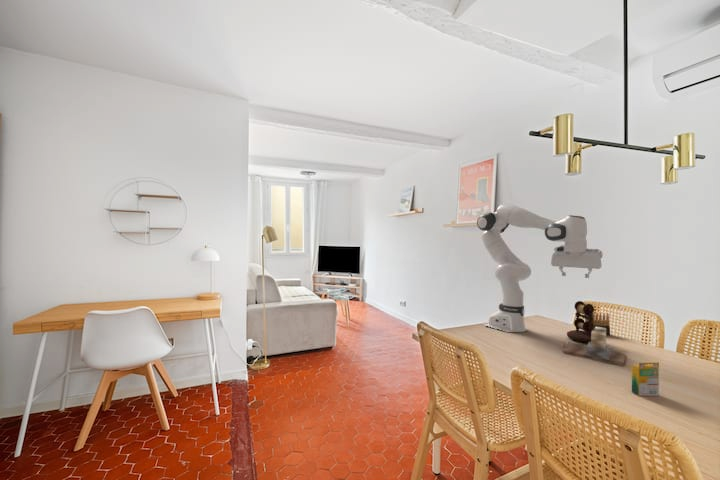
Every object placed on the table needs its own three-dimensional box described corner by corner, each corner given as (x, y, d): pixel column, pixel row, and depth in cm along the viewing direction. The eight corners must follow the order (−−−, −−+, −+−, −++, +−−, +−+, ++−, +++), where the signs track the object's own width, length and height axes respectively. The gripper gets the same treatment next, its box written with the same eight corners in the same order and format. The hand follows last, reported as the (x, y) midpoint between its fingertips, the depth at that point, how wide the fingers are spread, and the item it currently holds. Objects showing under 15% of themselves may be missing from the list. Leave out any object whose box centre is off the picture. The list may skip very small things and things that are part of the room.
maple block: (590, 346, 141) (591, 333, 141) (592, 343, 145) (592, 330, 145) (605, 349, 138) (605, 335, 138) (605, 346, 142) (606, 332, 142)
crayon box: (650, 391, 111) (651, 359, 110) (659, 396, 108) (659, 362, 107) (630, 392, 110) (631, 359, 110) (638, 396, 107) (639, 362, 107)
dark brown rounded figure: (608, 345, 158) (609, 305, 158) (578, 344, 158) (579, 305, 158) (587, 335, 173) (588, 299, 172) (560, 335, 173) (561, 299, 173)
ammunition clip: (588, 333, 176) (588, 312, 176) (586, 332, 178) (587, 311, 178) (610, 335, 174) (610, 313, 173) (608, 334, 175) (608, 313, 175)
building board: (563, 352, 147) (563, 329, 147) (568, 344, 159) (568, 322, 159) (624, 365, 133) (624, 339, 132) (625, 355, 145) (625, 331, 144)
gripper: (603, 249, 148) (602, 278, 148) (553, 247, 162) (552, 274, 162) (602, 249, 143) (601, 279, 144) (550, 248, 157) (550, 275, 157)
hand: (575, 276), depth 153 cm, fingers open, 8 cm apart
